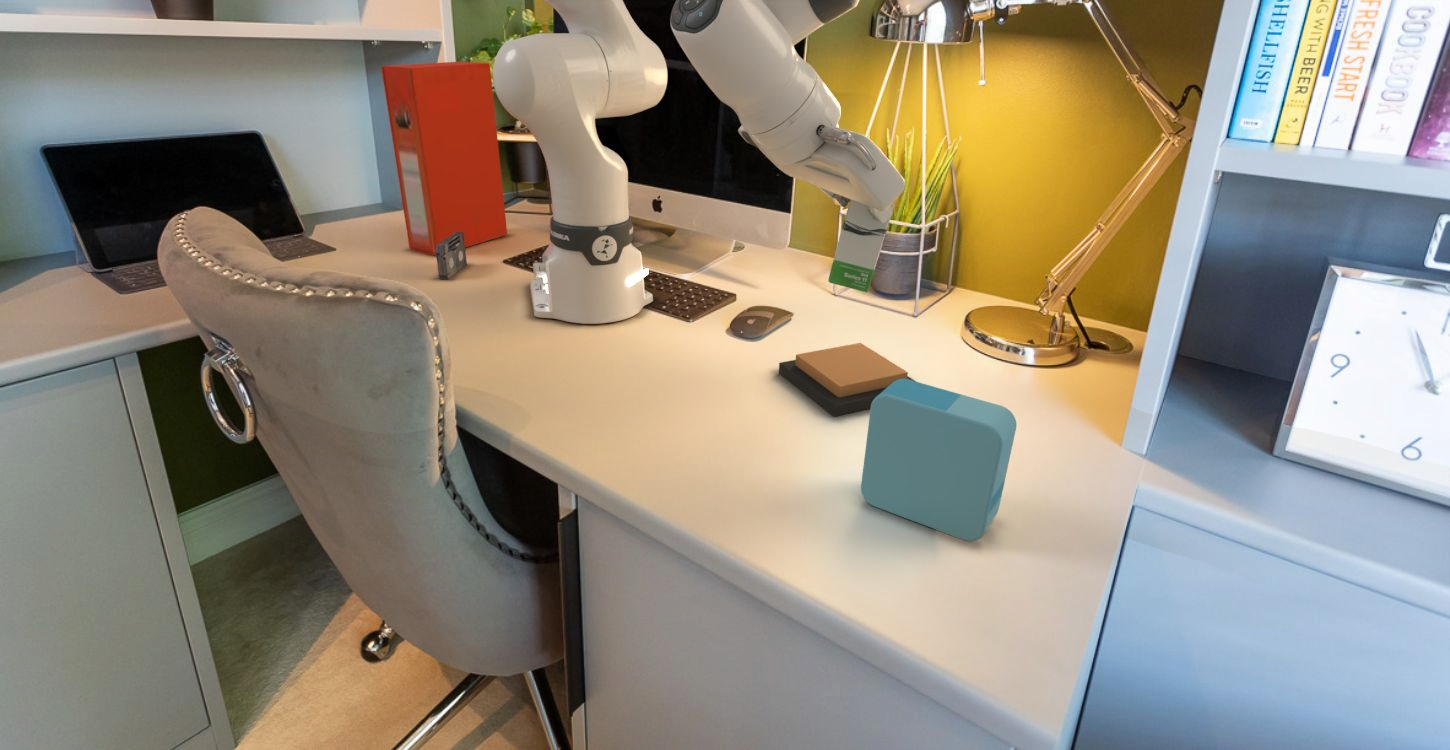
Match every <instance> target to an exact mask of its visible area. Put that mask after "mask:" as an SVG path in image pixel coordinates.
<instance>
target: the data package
mask: <svg viewBox="0 0 1450 750" xmlns="http://www.w3.org/2000/svg"><path fill="white" fill-rule="evenodd" d="M915 381H916V380H915ZM915 381H912V380H908V379H898V380H896V381H894V382H893V383H892V384H891V385H889V386H888V387H887V388H886V389H885V390H884V391H883V392H881V393H880V394H879V395H878V396H877V397H876V398H875V399H874V400H873V402H872V404H871V409H869V417H868V426H867V436H866V443H865V449H864V452H865V453H864V459H863V465H862V474H861V475H862V476H861V483H860V493H861V495H862V497H863V498H864V500H865V501H866V502H867V503H868V504H869V505H870V506H872V507H874V508H877V509H880V510H883V511H886V512H888V513H891V514H892V515H893V514H894V515H896V516H899V517H901V518H904V519H907V520H910V521H912V522H915V523H917V524H920V525H923V526H925V527H928V528H930V529H934V530H936V531H938V532H941V533H943V534H947V535H949V536H952V537H954V538H957V539H960V540H963V541H966V542H975V541H978V540H980V539H981V538H982V537H984V535H985V533H986V532H987V530H988V528H989V527H990V525H991V524H992V522H993V521H994V519H995V517H996V516H997V515H998V512H999V509H1000V505H1001V500H1002V496H1003V490H1004V486H1005V482H1006V479H1007V478H1006V477H1007V472H1008V468H1009V463H1010V458H1011V454H1012V449H1013V445H1014V440H1015V436H1016V432H1017V419H1016V417H1015V415H1014V414H1013V413H1012V411H1011V410H1010V409H1008V408H1007V407H1005V406H1002V405H1000V404H996V403H993V402H989V401H987V400H982V399H979V398H975V397H972V396H969V395H965V394H961V393H957V392H954V391H951V390H947V389H943V388H941V387H937V386H933V385H930V384H926V383H922V382H919V381H916V382H915Z"/></svg>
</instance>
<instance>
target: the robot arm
mask: <svg viewBox="0 0 1450 750" xmlns="http://www.w3.org/2000/svg"><path fill="white" fill-rule="evenodd" d="M542 1H543V2H545V3H546V4H548V5H550V6H551V7H552V8H553V9H554V10H555V11H556V12H557V13H558V14H559V16H560V17H561V19H562V20H563V21H564V24H565V26H566V28H567V31H568V33H565V32H562V33H561V32H560V33H558V32H557V33H555V32H553V33H552V32H551V33H547V32H545V33H541V32H540V33H534V34H531V35H526V36H522V37H519V38H515V39H512V40H508V41H506V42H505V43H503V44H502V45H501V46H500V48H499V50H498V52H497V53H496V55H495V58H494V61H493V67H492V84H493V87H494V90H495V94H496V96H497V98H498V100H499V102H500V104H501V105H502V106H503V108H504V109H505V110H506V111H507V112H508V114H510V115H511V117H513V118H515V119H516V120H517V121H519V122H520V123H521V124H522V125H524V127H525V128H526V129H527V130H528V131H529V132H530V133H531V135H532V136H533V138H534V139H535V141H536V142H537V144H538V146H539V148H540V150H541V153H542V155H543V157H544V161H545V165H546V169H547V175H548V180H549V188H550V198H551V199H550V200H551V210H552V216H551V217H550V221H549V223H550V224H549V225H548V226H549V227H548V229H549V231H548V232H549V241H550V243H549V244H548V246H547V247H546V249H545V250H544V252H543V253H542V255H541V259H542V260H541V262H533V263H532V270H533V278H534V279H532V280H531V281H530V283H529V289H530V296H531V297H530V298H531V303H532V310H533V316H534V317H535V318H536V317H537V318H542V319H555V320H559V321H562V322H568V323H574V324H590V325H593V324H594V325H596V324H597V325H598V324H608V323H614V322H619V321H620V322H621V321H624V320H627V319H629V318H632V317H634V316H636V315H637V314H639V313H640V312H641V311H642V309H643V308H644V307H645V306H647V305H649V304H651V303H653V302H654V295H653V293H651V292H649V291H648V290H646V289H645V279H644V278H645V277H646V276H648V275H649V268H644V267H643V255H642V252H641V251H640V250H639V249H638V248H637V247H636V246H634V236H633V233H634V225H633V218H632V216H631V215H630V208H629V204H630V203H629V202H630V201H629V170H628V166H627V165H626V162H625V161H624V159H623V158H622V157H621V156H620V155H619V154H618V153H617V152H615V151H614V150H612V149H610V148H609V147H607V146H605V145H603V143H602V142H601V140H600V138H599V135H598V132H597V127H596V119H604V118H615V117H627V116H631V115H634V114H638V113H641V112H643V111H646V110H648V109H651V108H653V107H655V106H657V105H658V104H659V103H660V101H662V99H663V97H664V96H665V93H666V90H667V87H668V86H667V85H668V78H669V77H668V76H669V75H668V67H667V61H666V59H665V57H664V54H663V52H662V50H661V49H660V47H659V45H657V44H656V43H655V42H654V41H653V40H652V39H650V38H649V37H648V36H647V35H646V34H645V33H644V32H643V31H642V30H641V29H640V27H639V26H638V25H637V23H636V22H635V21H634V19H633V18H632V16H631V14H630V12H629V10H628V9H627V7H626V4H625V2H624V0H542ZM859 2H860V0H675V2H674V4H673V7H672V9H671V12H670V19H669V21H670V23H669V24H670V28H671V31H672V33H673V36H674V37H675V39H676V41H677V43H678V44H679V47H680V48H681V49H682V51H683V53H684V54H685V55H686V57H687V59H688V60H689V62H690V64H691V65H692V66H693V68H694V69H695V71H696V72H697V73H698V75H699V76H700V78H701V79H702V80H703V81H704V83H705V84H706V85H707V87H708V89H710V90H711V91H712V92H713V94H714V96H716V97H717V98H718V100H719V101H721V102H722V103H723V104H725V105H727V106H728V107H730V109H732V110H733V111H734V113H735V114H736V115H737V117H738V120H739V122H740V124H741V125H740V127H739V128H738V129H737V132H738V134H739V135H740V136H741V137H742V138H743V140H744V141H745V142H746V143H747V144H750V145H752V146H754V147H755V148H757V149H759V151H760V152H761V153H762V154H763V155H764V156H765V157H766V158H767V159H768V160H769V161H770V162H771V163H772V164H773V165H774V166H775V167H776V168H778V169H779V170H780V171H781V172H782V173H784V174H785V175H787V176H788V177H791V178H794V179H797V180H799V181H801V182H805V183H806V184H810V185H812V186H814V187H816V188H817V189H819V191H820V190H821V192H823V193H824V194H825V195H826V196H827V197H829V199H831V201H832V202H833V203H834V204H835V205H837V206H839V207H842V208H845V207H848V206H849V203H850V199H851V200H854V201H856V202H859V203H862V204H864V205H867V206H869V208H870V209H869V210H868V212H869V214H870V215H871V216H872V217H873V219H875V220H877V221H879V222H881V223H885V222H886V221H887V220H888V219H889V218H890V217H891V218H892V216H893V214H894V209H893V210H892V208H891V207H890V206H891V205H892V204H893V203H894V202H895V203H896V201H895V200H898V199H899V197H901V195H902V194H903V192H904V191H905V188H906V181H905V178H904V177H903V176H902V174H901V173H900V172H899V171H898V169H897V168H896V167H895V166H894V164H893V162H891V161H890V160H889V158H888V157H887V156H886V154H885V153H884V152H883V151H882V150H881V148H879V147H878V146H877V144H876V143H875V142H874V141H873V140H871V139H870V138H869V137H867V136H866V135H864V134H862V133H859V132H855V131H853V130H852V131H851V130H849V129H844V128H841V127H840V126H839V121H840V119H841V113H842V108H841V105H840V102H839V101H838V100H837V98H836V97H835V96H834V94H833V92H831V91H830V89H829V87H827V84H826V83H825V82H824V81H823V80H822V78H821V77H820V76H819V74H818V73H817V71H816V69H815V68H814V67H813V66H812V65H811V63H809V62H807V61H806V60H804V59H803V58H802V57H801V56H800V55H799V53H798V52H797V50H796V49H795V45H797V44H799V43H800V42H801V41H802V40H805V38H807V37H808V36H810V35H811V34H812V33H814V32H816V30H818V29H819V28H820V27H822V26H824V25H828V24H829V23H831V22H833V21H835V20H836V19H838V18H839V17H841V16H844V15H845V14H846V13H848V12H850V11H851V10H853V9H855V8H857V6H858V5H859ZM891 218H890V219H891Z"/></svg>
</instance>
